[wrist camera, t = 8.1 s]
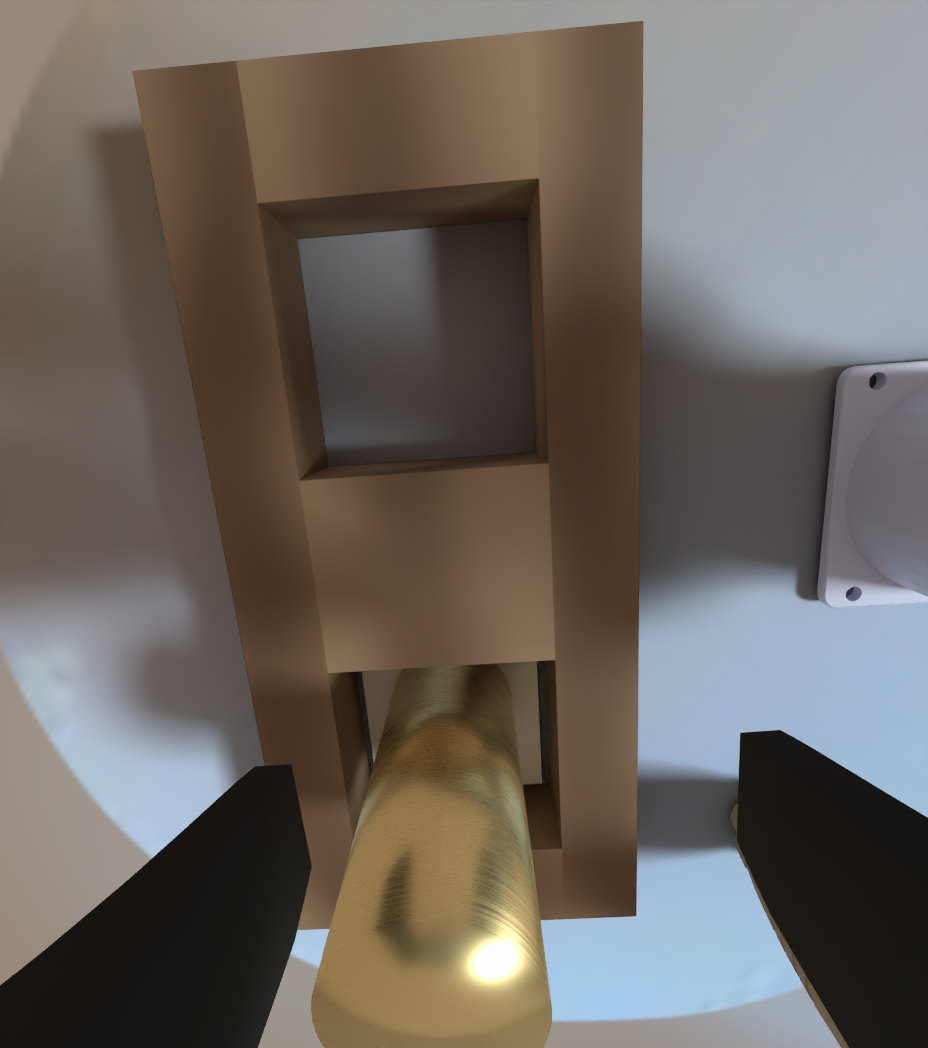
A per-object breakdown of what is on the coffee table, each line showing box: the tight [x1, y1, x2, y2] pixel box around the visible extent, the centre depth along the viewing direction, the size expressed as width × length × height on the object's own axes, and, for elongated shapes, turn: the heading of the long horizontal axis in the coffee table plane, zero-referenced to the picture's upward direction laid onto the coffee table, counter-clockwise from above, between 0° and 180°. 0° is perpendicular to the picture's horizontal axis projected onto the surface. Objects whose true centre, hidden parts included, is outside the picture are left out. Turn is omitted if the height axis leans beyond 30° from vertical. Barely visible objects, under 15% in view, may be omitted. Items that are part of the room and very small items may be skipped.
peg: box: [311, 663, 552, 1048], centre depth 14 cm, size 4×4×10 cm
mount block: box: [133, 21, 643, 930], centre depth 17 cm, size 12×26×3 cm, turn 4°
